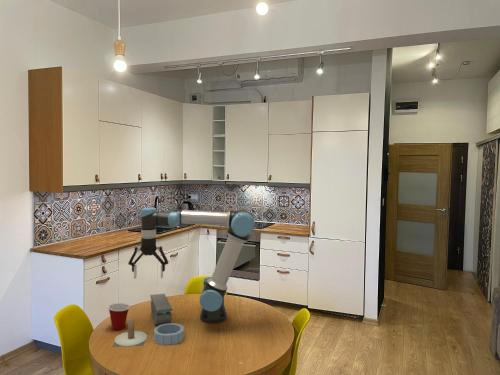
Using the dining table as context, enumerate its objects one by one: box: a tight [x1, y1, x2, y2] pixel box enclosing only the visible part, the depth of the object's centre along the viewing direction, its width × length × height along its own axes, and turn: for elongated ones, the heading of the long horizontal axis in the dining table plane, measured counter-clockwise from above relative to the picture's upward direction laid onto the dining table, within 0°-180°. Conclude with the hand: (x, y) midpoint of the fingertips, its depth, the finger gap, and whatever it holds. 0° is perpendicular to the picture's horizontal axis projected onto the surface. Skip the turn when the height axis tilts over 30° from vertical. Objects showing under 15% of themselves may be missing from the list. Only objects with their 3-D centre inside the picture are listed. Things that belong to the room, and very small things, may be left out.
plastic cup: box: [107, 302, 131, 331], centre depth 191 cm, size 11×11×12 cm
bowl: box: [153, 322, 185, 346], centre depth 180 cm, size 14×14×5 cm
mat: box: [112, 332, 149, 348], centre depth 179 cm, size 14×14×1 cm
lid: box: [114, 317, 148, 348], centre depth 178 cm, size 15×15×10 cm
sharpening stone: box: [149, 293, 173, 326], centre depth 202 cm, size 25×8×11 cm, turn 22°
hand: (148, 277), depth 193 cm, fingers open, 13 cm apart
